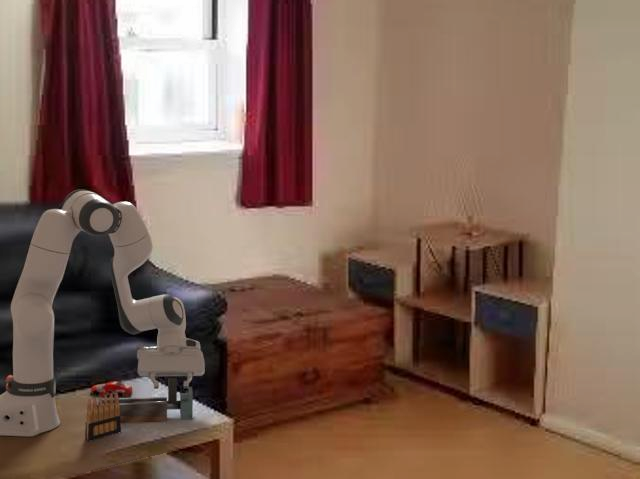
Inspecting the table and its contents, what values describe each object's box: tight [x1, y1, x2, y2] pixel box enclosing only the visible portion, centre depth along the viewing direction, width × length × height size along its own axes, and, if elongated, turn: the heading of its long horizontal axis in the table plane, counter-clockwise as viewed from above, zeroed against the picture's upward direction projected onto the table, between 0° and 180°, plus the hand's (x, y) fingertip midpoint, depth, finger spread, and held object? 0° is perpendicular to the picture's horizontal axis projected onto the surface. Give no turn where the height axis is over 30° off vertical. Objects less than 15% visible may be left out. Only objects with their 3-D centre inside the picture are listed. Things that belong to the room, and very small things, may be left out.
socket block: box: [179, 386, 194, 420], centre depth 295 cm, size 4×6×8 cm, turn 10°
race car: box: [90, 381, 133, 398], centre depth 312 cm, size 13×5×4 cm, turn 82°
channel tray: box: [92, 396, 168, 424], centre depth 292 cm, size 22×9×5 cm, turn 100°
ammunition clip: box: [84, 392, 122, 442], centre depth 277 cm, size 11×2×12 cm, turn 134°
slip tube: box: [133, 377, 181, 411], centre depth 293 cm, size 16×3×9 cm, turn 100°
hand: (171, 387), depth 294 cm, fingers open, 7 cm apart
